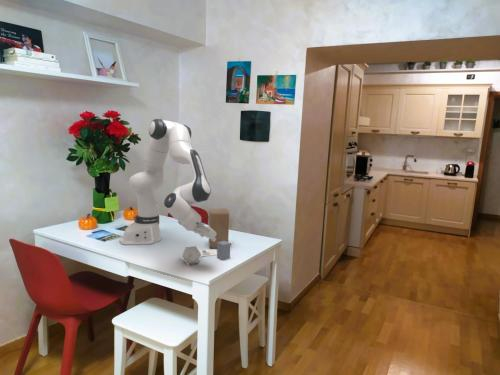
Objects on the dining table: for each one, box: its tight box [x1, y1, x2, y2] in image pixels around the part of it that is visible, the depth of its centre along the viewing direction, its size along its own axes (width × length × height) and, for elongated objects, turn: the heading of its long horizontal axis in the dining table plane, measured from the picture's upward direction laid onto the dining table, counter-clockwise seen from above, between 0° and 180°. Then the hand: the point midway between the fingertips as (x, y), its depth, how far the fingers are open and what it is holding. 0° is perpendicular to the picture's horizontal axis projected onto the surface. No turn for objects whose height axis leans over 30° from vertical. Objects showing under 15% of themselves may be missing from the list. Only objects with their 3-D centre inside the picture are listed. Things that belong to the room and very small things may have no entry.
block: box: [208, 208, 230, 249], centre depth 201 cm, size 10×10×20 cm
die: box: [181, 245, 201, 265], centre depth 176 cm, size 8×9×10 cm
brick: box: [216, 241, 231, 261], centre depth 184 cm, size 5×5×8 cm
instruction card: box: [199, 248, 217, 258], centre depth 190 cm, size 12×8×1 cm, turn 112°
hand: (208, 237), depth 176 cm, fingers open, 8 cm apart
